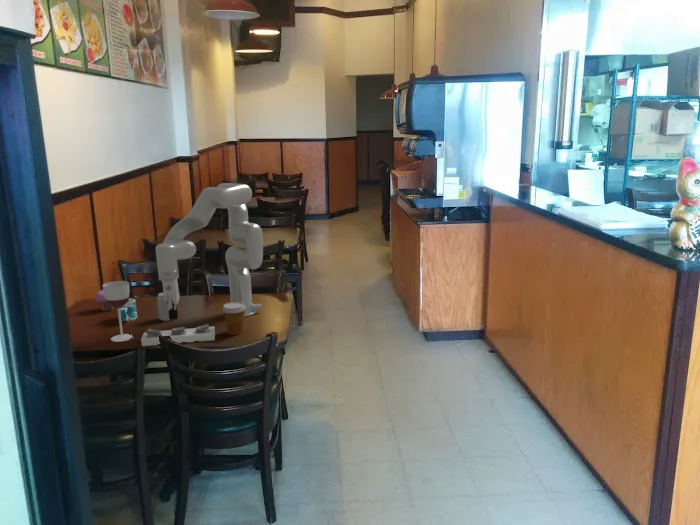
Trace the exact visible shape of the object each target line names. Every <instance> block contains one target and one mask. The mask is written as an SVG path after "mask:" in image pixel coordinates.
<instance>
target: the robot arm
mask: <svg viewBox="0 0 700 525" xmlns="http://www.w3.org/2000/svg"><path fill="white" fill-rule="evenodd" d="M252 197H253V191H252V188H251V187H250V186H249V185H248V184H246V183H233V182H231V183H230V182H223V183H219V184H218V185H217V186H216V187H215V186H209V187H204V188H203V190H202V191H201V192H200V194H199V196H198V198H197V199H196V201H195V203H194V204H193V206H192V208H191V210H190V211H189V213H188V214H187V215H186V216H184V217H183V218H182V219H180V220H179V221H178V222H176V224H174V225H173V226H172V227H171V228H170V230H169V231H168V232H167V234H166V236H165V238H164V240H163V242H162V243H159V244H157V245H156V246H155V256H156V258H155V259H156V264H157V273H158V280H159V281H161V282H162V293H164V300H165V304H166V305H167V304H168V309H169V310H168V312H169V319H170V320H171V321H173V319H174V320H178V319H179V314H178V308H177V305H178V304H179V303H180V302H179V301H180V297H181V296H180V290H179V284H178V279H179V278H180V276H179V274H180V273H179V265H178V261H180V260H188V259H191V258H192V257H194V255H196V253H197V247H196V244H195V243H194V242H192V241H191V240H189V239H187V240H186V239H184V238H185V237H186V236H187V235H189V234H191V233H193V232H195V231H197V230H200V229H201V230H202V228H203V229H204V228H205V227H206V226H208V224H209V223H210V221H211V219H212V217H213V215H214V214H215V212H216V210H217V209H227V215H228V237H229V240H230V241H232V242H233V243H236V244H245V245H244V246H243V245H231V246H230V247H228V249H227V250H226V251H225V255H224V256H225V262H226V266H227V271H228V282H229V292H230V303H231V302H242V303H244V305H245V306H246V308H245V315H244V318H246V316H247V317H250V315H251V316H253V315H255V314H256V313H257V310H258V309H259V310H260V309H261V310H262V309H263V304H260V303H254V301H253V300H252V299H253V297H252V282H251V281H252V280H251V279H252V278H251V272H250V270H256V269H258V268H260V267H261V266H262V263H263V258H264V234H263V229H262V228H261V226H260V225H259V224H257V223H254V222H249V215H248V214H249V212H248V208H247V205H246V204H248V203H249V202H250V201H251V200H252ZM256 309H257V310H256Z"/></svg>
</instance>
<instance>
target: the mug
mask: <svg viewBox="0 0 700 525" xmlns="http://www.w3.org/2000/svg"><path fill="white" fill-rule="evenodd" d="M116 309H117V311H118V308H116ZM137 311H138V310H137V301H136V299H135V298H129V300H128V302H127V303H126V304H125V305H124V306H122V307H120V314H121V322H122V321H127V322H131V321H130V320H132V321H135V320H136V318H137V319H138V312H137ZM117 317H118V316H117ZM134 319H135V320H134ZM118 320H119V317H118Z"/></svg>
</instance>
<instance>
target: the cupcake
mask: <svg viewBox="0 0 700 525" xmlns="http://www.w3.org/2000/svg"><path fill="white" fill-rule="evenodd" d="M95 301H96V302H97V303H98V304H99V307H100V309H101V311H103V312H106V311H108V310H109V311H112V310H114V307H113V306H111V305H109V304H108V303H107V301H106V298H105V295H104V291H103V289H101V290H100V291H97V293H96V294H95Z"/></svg>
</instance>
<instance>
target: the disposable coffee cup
mask: <svg viewBox="0 0 700 525" xmlns="http://www.w3.org/2000/svg"><path fill="white" fill-rule="evenodd" d="M245 308H246V306H245V305H244V303H242V302H231V301H230V302H227V303H225V304H223V306H222V311H223V314H224V319H225V325H226V329H227V334H228V335H231V336H237V335H238V334H239V335H241V334H243V333H244V329H245V328H244V327H245V317H244V315H245Z"/></svg>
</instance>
